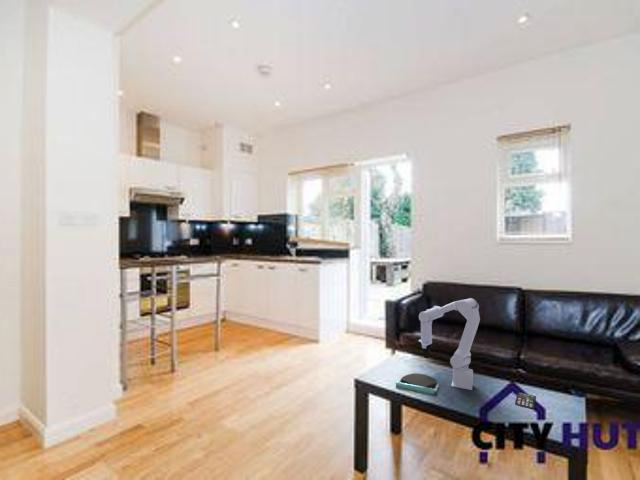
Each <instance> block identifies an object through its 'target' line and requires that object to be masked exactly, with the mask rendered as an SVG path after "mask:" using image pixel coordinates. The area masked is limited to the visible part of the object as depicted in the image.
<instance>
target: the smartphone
mask: <svg viewBox="0 0 640 480" xmlns="http://www.w3.org/2000/svg"><path fill="white" fill-rule="evenodd" d="M536 399H537V397H536V396H535V395H533V394H530V393H525V392H524V393H523V392H517V394H516V398H515V402H514V404H515V406H518V407H521V408H525V409H530V410H535V407H536Z"/></svg>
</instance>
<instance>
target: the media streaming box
mask: <svg viewBox="0 0 640 480" xmlns="http://www.w3.org/2000/svg"><path fill="white" fill-rule="evenodd" d="M401 383H406V384H411V385H417V386H422V387H427V388H433V389H435V387H436V384H438V380H436V379H435V378H433V377H431V376H429V375H427V374H423V373H417V372H416V373H414V372H413V373H408V374H406V375H404V376H402V382H401Z"/></svg>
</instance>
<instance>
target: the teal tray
mask: <svg viewBox="0 0 640 480" xmlns="http://www.w3.org/2000/svg"><path fill="white" fill-rule="evenodd" d="M402 377H403V376H402ZM402 377H400V378H399V379H398V381H396V382H395V388H397V389H401V390H402V389H403V390H407V391H411V392H412V391H413V392H417V393H423V394H426V395H427V394H428V395H431V396H432V395H433V396H437V394H438V391H439V386H440V384H439V383H437V384H436V387H435V388H427V387H422V386H417V385H411V384H406V383H402Z"/></svg>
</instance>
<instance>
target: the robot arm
mask: <svg viewBox="0 0 640 480" xmlns="http://www.w3.org/2000/svg"><path fill="white" fill-rule="evenodd" d="M479 308H480V306H479V303H478V302H477V301H476V300H475V298H471V297H469V298H466V299H460V300H456V301H453V302H450V303H448V304H445V305H444V306H438V305H434V306H432V308H427V309H426V310H425V311H421V312H419V314H418V320H419V321H420V339H418V342H419V343H421V344H420V349H421V351H422V354H423V359H429V357H430V352H431V348H432V347H433V339H432V338H433V336H432V335H433V334H432V332H433V331H432V326H433V321H434V320H436V319H439V318H442V317H444V315H445V313H448V312H450V311H454V310H455V311H458V312H459V313H460V314H461V315H462V316H463V317H464V318H465V319H466V323H465V325H464V326H465V327H464V329H463V332H462V335H461V339H460V341H459V344H458V348H457V349H456V351H455V352H454V353H453V356H451V357H450V361H449V363H450V365H451V367H452V382H451V387H453V388H457V389H458V388H459V389H464V390H470V391H473V385H474V380H473V379H474V376H473V374H474V370H473V369H471V368H469V365H470V364H471V360H472V359H471V356H472V353H471V352H470V351H471V349H472V344H473V341H474V339H475V336H476V334H477V331H478V327H479V324H480V321H481V317H480V312H479Z"/></svg>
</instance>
